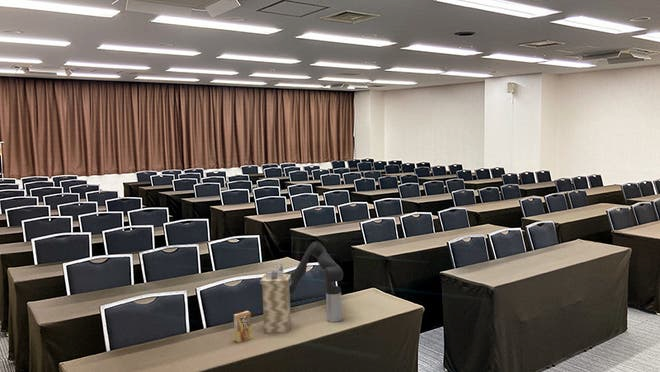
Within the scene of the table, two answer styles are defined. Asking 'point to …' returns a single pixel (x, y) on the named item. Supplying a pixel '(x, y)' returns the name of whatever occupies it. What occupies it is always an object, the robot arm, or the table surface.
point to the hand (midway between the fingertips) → (281, 273)
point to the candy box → (242, 326)
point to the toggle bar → (276, 272)
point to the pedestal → (276, 304)
